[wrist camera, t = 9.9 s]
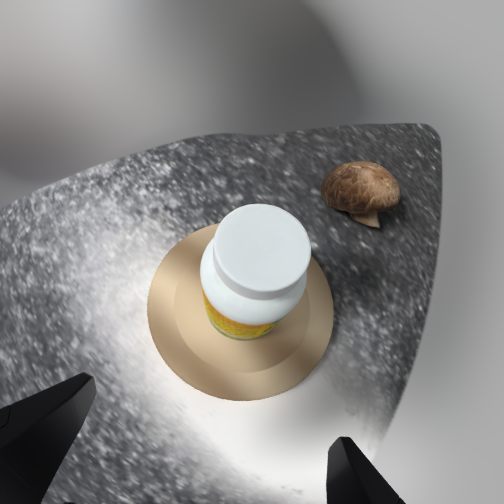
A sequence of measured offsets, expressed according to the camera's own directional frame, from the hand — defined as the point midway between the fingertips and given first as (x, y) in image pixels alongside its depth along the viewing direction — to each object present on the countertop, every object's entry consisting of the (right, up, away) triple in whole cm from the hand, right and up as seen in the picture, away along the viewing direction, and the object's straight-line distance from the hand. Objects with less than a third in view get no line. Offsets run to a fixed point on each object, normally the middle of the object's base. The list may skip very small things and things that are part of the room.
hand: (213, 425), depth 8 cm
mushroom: (+11, +10, +19) cm, 25 cm away
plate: (+1, +2, +13) cm, 13 cm away
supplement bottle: (+1, +2, +12) cm, 12 cm away
